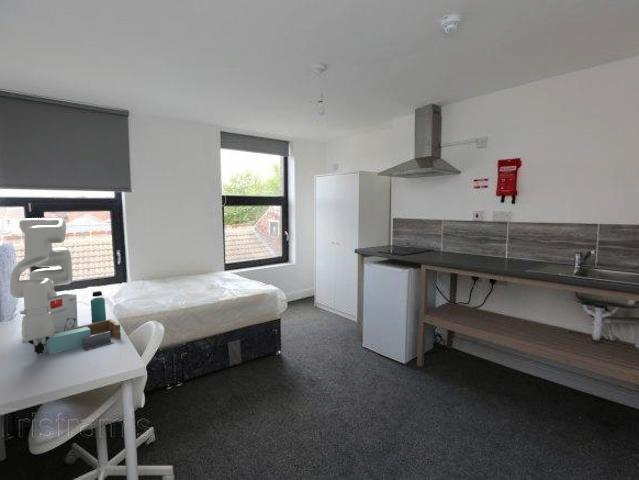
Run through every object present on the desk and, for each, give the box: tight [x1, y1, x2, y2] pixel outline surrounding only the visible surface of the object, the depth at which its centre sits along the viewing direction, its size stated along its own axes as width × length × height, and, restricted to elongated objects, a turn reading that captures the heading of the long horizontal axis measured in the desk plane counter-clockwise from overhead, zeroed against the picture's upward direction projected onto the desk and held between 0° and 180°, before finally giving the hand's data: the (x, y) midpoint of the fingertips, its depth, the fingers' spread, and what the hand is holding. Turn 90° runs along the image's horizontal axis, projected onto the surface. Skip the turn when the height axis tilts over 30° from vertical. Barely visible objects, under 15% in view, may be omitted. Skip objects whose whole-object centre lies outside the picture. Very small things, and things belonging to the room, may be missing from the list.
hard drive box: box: [37, 293, 79, 344], centre depth 158 cm, size 16×8×20 cm, turn 168°
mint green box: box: [46, 327, 91, 355], centre depth 147 cm, size 6×15×7 cm, turn 138°
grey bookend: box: [82, 331, 115, 352], centre depth 149 cm, size 5×11×4 cm, turn 141°
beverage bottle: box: [89, 290, 107, 324], centre depth 169 cm, size 6×7×20 cm
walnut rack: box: [67, 319, 122, 341], centre depth 154 cm, size 12×18×7 cm
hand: (39, 353), depth 138 cm, fingers closed
